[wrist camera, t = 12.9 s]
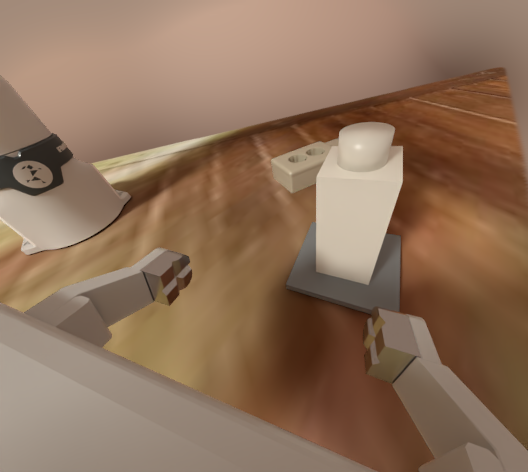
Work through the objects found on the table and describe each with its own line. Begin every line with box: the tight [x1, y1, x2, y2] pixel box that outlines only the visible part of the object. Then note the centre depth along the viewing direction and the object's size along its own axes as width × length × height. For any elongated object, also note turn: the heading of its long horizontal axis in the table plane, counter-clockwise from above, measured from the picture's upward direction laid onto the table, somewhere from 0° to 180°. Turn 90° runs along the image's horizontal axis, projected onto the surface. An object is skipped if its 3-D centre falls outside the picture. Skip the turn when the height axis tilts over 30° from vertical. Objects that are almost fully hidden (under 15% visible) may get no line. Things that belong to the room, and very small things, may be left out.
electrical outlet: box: [271, 138, 339, 193], centre depth 37 cm, size 7×4×18 cm
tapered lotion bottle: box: [316, 122, 403, 285], centre depth 17 cm, size 5×5×13 cm
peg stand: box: [286, 222, 401, 314], centre depth 20 cm, size 10×10×8 cm
